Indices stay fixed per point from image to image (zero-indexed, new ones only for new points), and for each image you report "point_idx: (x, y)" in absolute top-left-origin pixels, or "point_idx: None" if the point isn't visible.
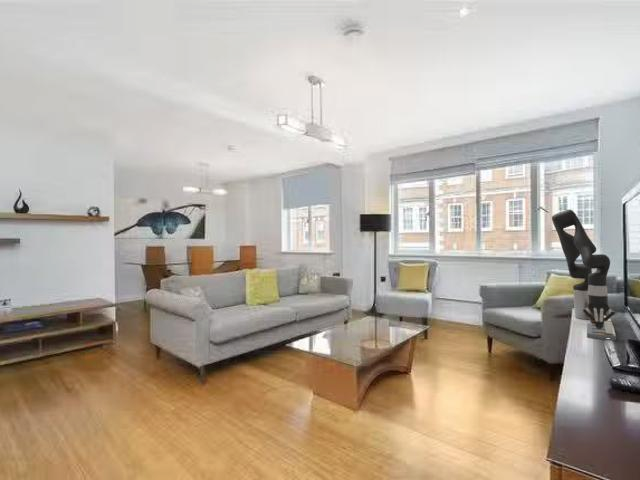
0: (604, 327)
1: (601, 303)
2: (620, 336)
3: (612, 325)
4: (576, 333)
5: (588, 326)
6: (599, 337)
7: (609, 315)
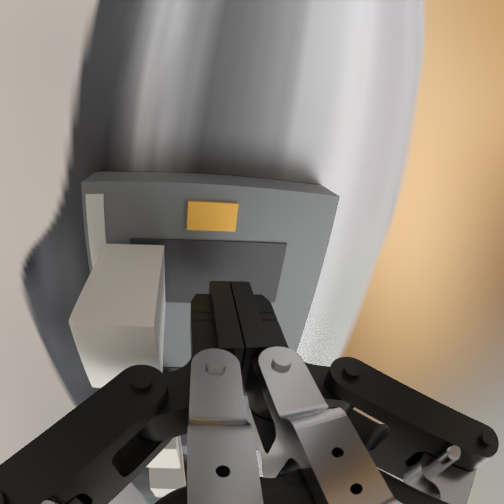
0: None
1: None
2: None
3: None
4: (358, 285)
5: None
6: (228, 178)
7: (65, 462)
